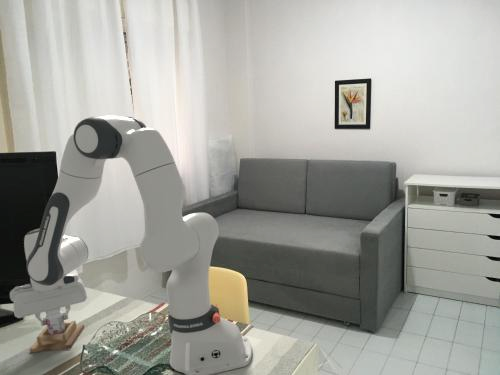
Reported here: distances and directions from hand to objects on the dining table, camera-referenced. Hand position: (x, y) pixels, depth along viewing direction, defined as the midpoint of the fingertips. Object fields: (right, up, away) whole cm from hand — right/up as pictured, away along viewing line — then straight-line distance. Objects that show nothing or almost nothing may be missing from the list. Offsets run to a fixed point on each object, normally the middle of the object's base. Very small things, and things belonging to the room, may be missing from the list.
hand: (55, 321), depth 129 cm
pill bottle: (0, -4, +1) cm, 4 cm away
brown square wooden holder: (+1, -6, +1) cm, 6 cm away
